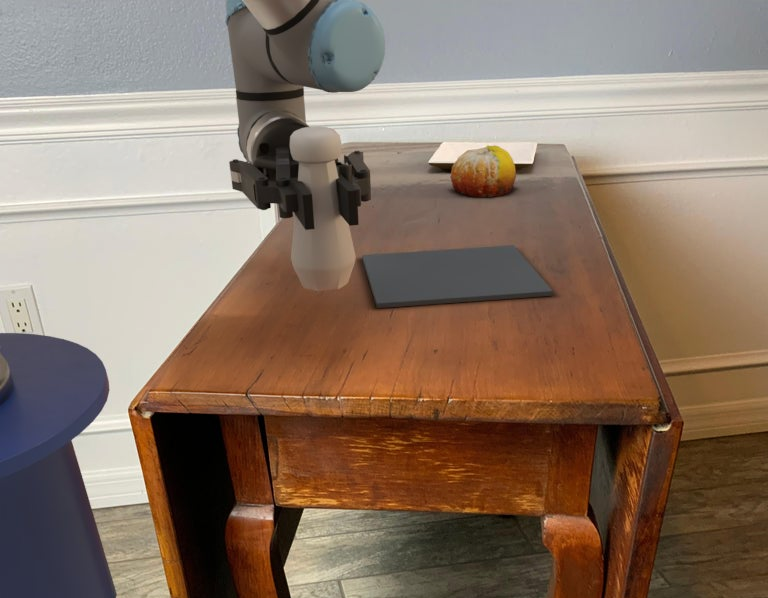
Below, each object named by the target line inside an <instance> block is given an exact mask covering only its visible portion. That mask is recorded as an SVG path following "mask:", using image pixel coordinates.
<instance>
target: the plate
mask: <svg viewBox="0 0 768 598" xmlns="http://www.w3.org/2000/svg"><path fill="white" fill-rule="evenodd" d="M487 146H499V147H500V148H502V149H504V150H506V151H507V152H508V153H509V154H510V156H511V157H512V159H513V162H514V165H515V171H519V170H523V169H525V168H528V167H532V165H533V164H534V160H535V156H536V151H537V146H538V143H537V142H535V141H524V142H523V141H443V142H442V143H440V145H439V146H438V148H437V149H436V150H435V152H434V153H433V154H432V156H431V157H430V159H429V160H428V162H427V164H428V165H429V166H431V167H435V168H439V169H442V170H445V171H452V166H453V165H454V163H455V162H456V161H457V159H458V157H459V156H461V155H462V154H464V153H465V152H466V151H467V150H473V149H479V148H484V147H487Z"/></svg>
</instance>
